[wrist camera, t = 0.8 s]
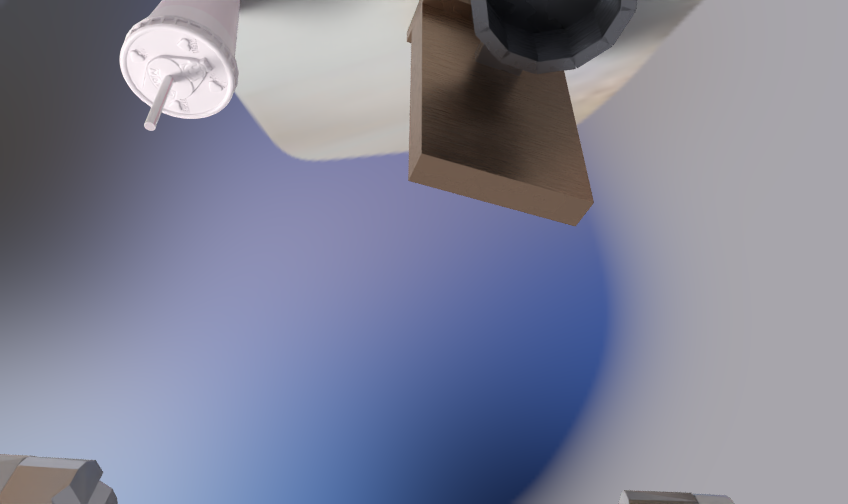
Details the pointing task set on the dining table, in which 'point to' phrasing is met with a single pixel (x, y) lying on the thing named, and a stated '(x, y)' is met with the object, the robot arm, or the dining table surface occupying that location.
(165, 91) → the smoothie
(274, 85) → the dining table surface
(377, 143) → the dining table surface
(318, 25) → the dining table surface
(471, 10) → the cup bracket
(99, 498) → the robot arm
